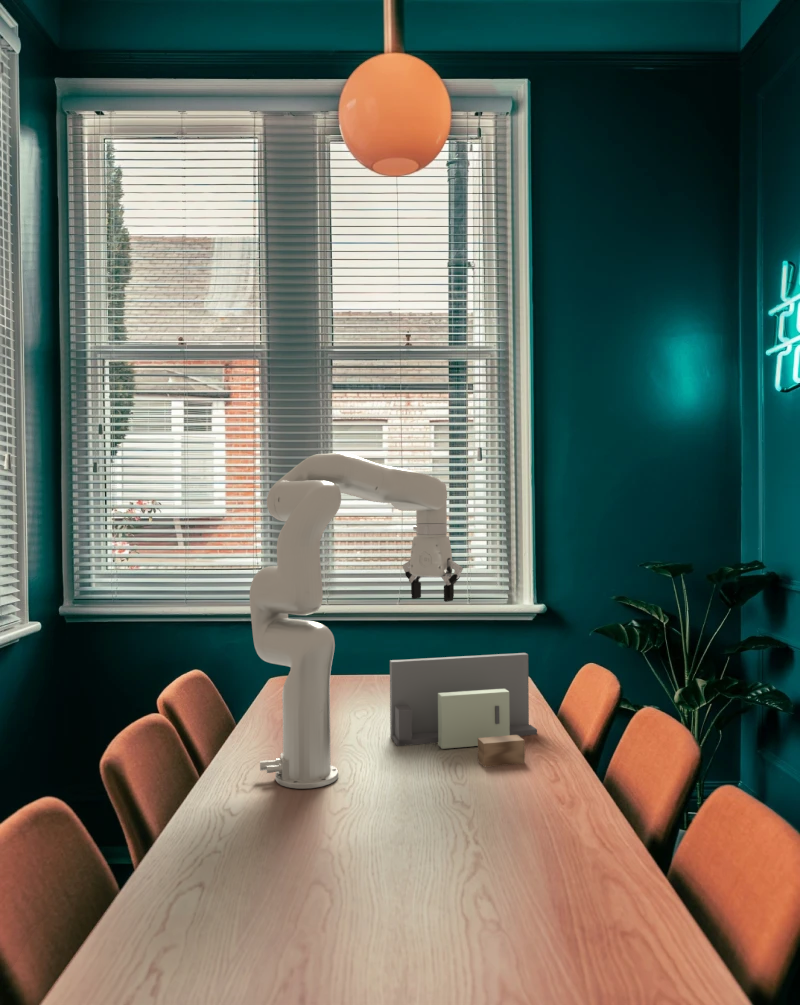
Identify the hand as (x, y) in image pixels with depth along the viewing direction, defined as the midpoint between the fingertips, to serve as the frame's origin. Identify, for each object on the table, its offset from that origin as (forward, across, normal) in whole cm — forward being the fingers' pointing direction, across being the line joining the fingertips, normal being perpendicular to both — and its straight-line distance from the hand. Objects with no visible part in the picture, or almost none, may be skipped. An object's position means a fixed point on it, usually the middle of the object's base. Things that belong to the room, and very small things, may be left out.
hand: (432, 599), depth 191 cm
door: (+31, +17, -8) cm, 36 cm away
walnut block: (+31, +27, -14) cm, 44 cm away
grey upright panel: (+31, +11, -3) cm, 33 cm away
